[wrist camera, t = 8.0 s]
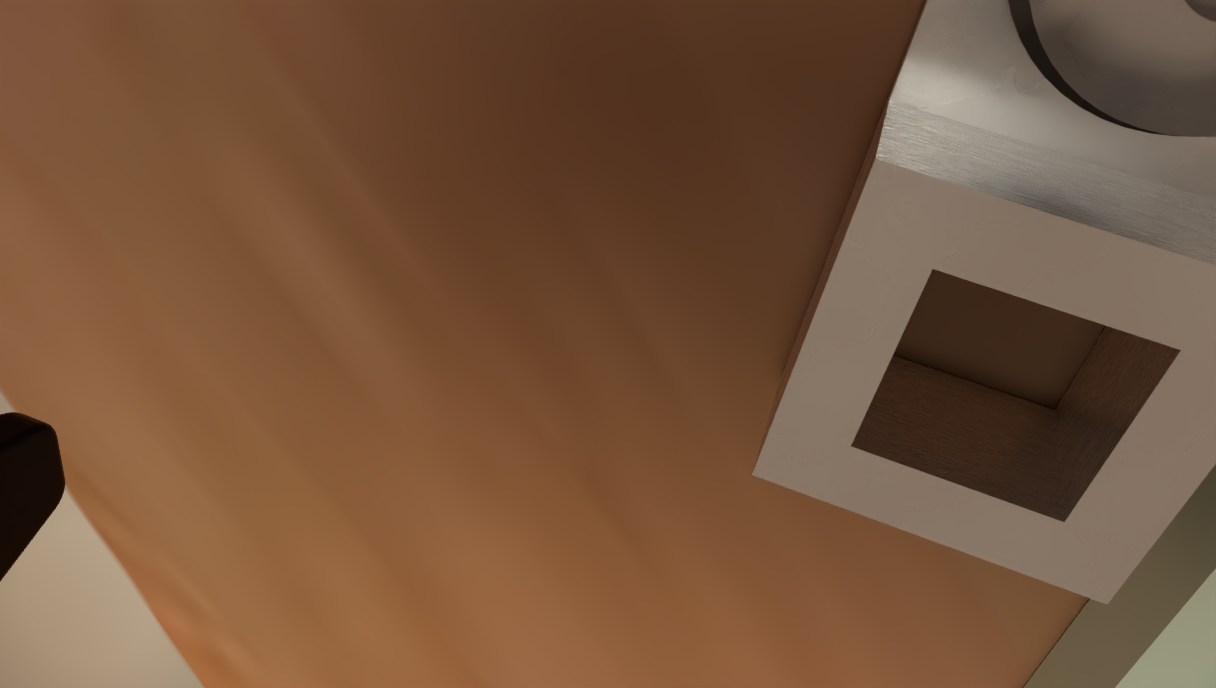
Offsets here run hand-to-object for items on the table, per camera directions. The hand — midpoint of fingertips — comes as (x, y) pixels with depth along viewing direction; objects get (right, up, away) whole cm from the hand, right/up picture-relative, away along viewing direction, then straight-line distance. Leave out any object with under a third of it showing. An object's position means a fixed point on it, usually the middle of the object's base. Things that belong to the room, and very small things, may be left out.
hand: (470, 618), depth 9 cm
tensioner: (+10, +7, +8) cm, 14 cm away
